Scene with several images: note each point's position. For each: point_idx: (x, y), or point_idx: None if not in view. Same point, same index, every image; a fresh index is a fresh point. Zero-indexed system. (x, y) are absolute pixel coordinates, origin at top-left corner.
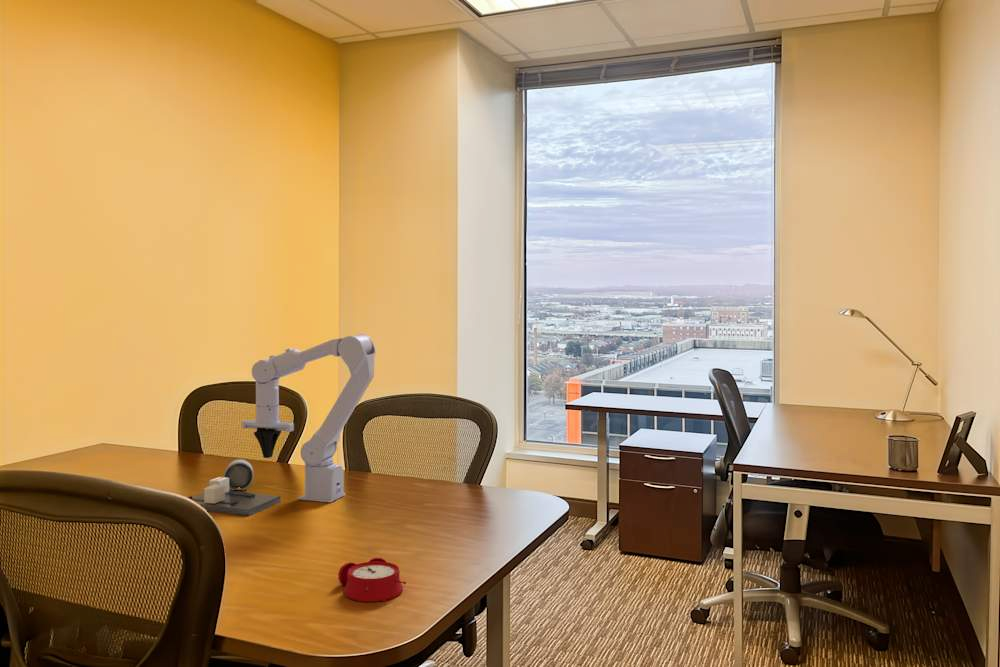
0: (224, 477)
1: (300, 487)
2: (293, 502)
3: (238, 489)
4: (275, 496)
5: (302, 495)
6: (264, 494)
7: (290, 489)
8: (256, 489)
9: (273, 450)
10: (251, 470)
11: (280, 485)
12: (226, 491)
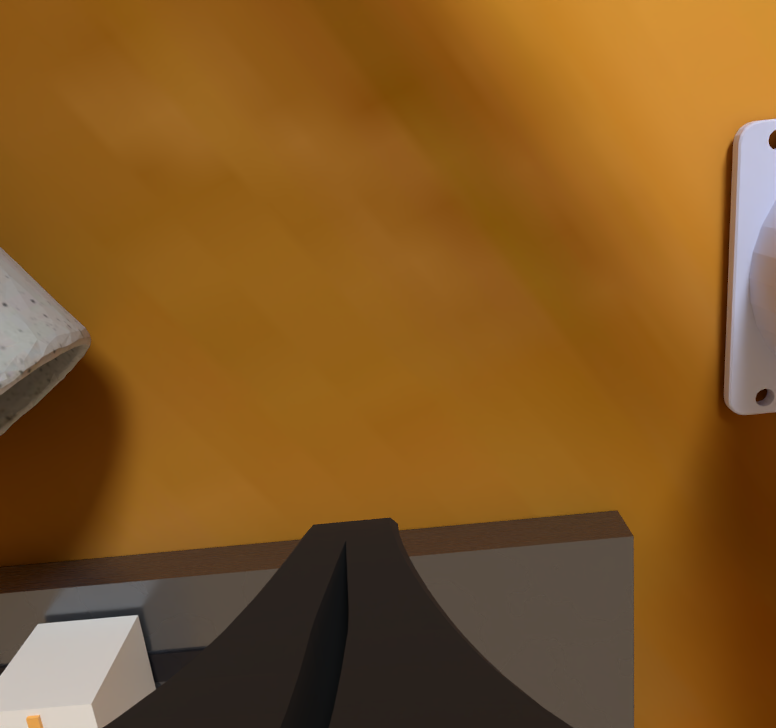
0: (40, 714)
1: (480, 10)
2: (726, 477)
3: (21, 383)
4: (602, 564)
5: (734, 340)
6: (470, 552)
7: (435, 131)
8: (138, 280)
9: (411, 563)
10: (26, 374)
11: (230, 37)
12: (144, 654)
